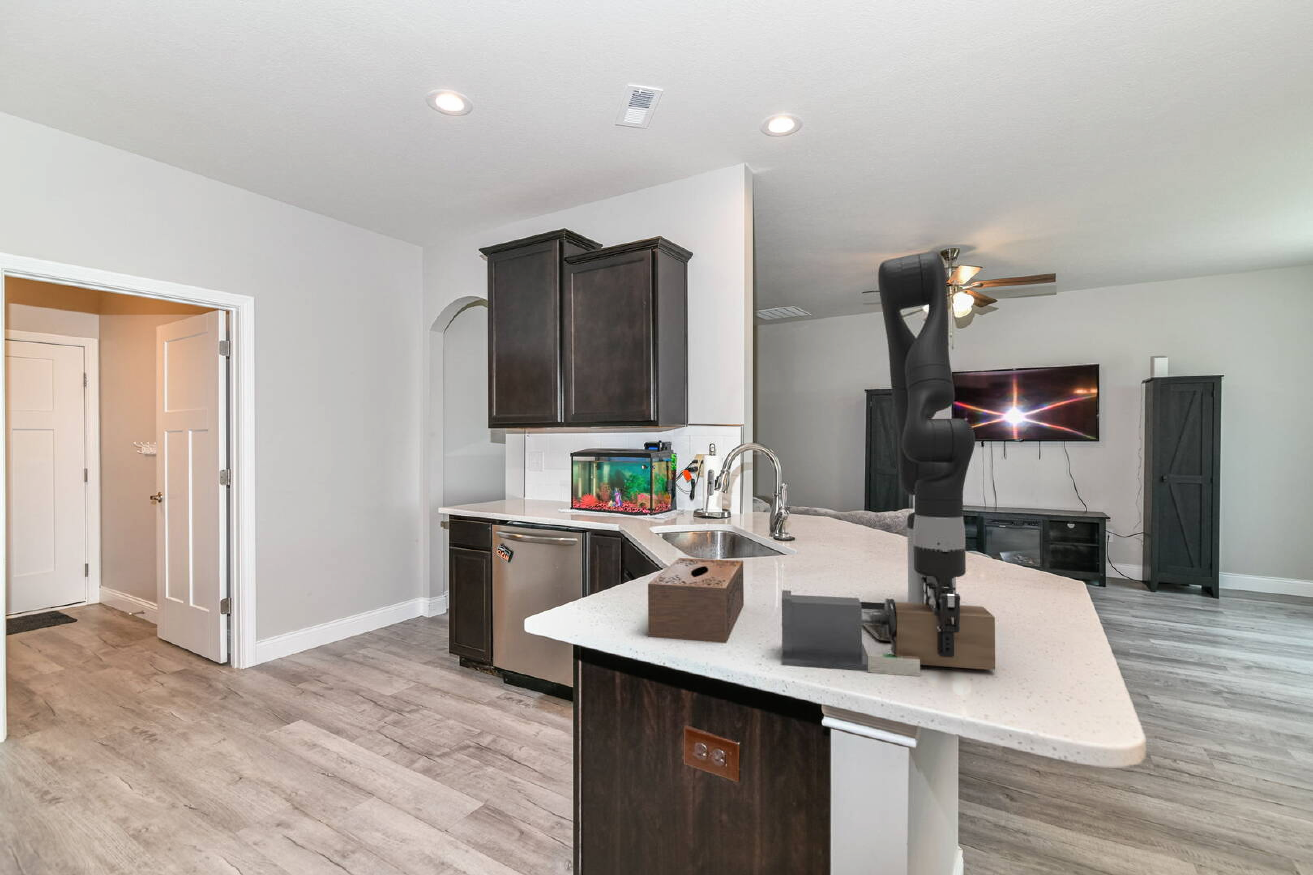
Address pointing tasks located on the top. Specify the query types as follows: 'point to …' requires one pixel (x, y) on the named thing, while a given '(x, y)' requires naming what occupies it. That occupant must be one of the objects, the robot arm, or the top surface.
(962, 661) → the walnut block
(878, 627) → the black curved shell
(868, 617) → the plunger
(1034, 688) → the top surface
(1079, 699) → the top surface
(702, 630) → the tissue box cover
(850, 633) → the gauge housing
